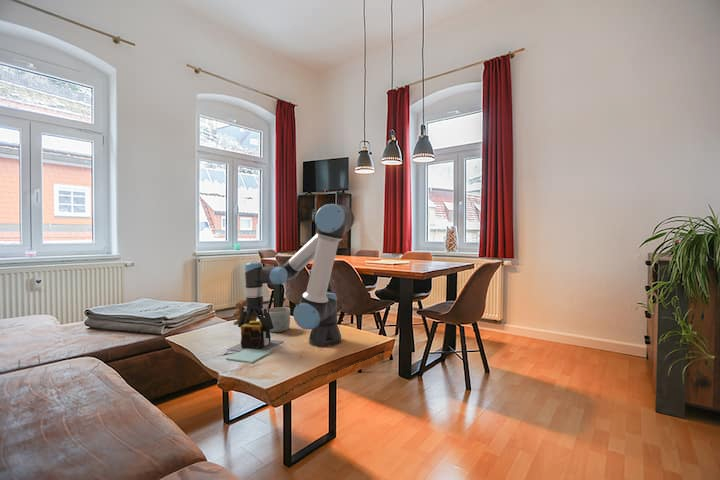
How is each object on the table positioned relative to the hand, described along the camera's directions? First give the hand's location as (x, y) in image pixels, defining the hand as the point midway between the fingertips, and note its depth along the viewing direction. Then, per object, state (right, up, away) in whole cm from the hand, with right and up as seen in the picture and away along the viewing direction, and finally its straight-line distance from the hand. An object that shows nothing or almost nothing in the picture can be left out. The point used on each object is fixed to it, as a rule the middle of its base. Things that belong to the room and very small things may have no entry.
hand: (256, 343), depth 164 cm
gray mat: (0, -1, 0) cm, 1 cm away
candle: (0, -1, 0) cm, 1 cm away
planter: (+5, 0, +25) cm, 26 cm away
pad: (+1, -1, -13) cm, 13 cm away
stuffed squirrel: (-18, 0, +42) cm, 46 cm away
